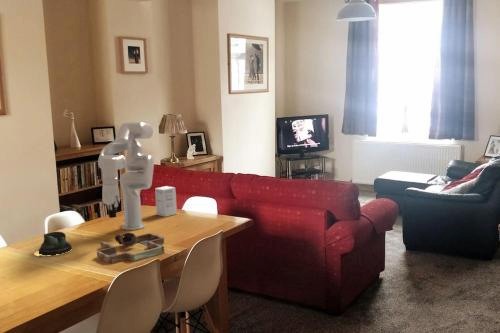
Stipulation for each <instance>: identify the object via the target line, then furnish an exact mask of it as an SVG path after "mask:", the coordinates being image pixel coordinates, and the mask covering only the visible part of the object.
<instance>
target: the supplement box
mask: <svg viewBox="0 0 500 333" xmlns="http://www.w3.org/2000/svg"><path fill="white" fill-rule="evenodd" d="M154 190H155V191H154V192H155V208H156V209H155V210H156V215H158V216H161V217H164V218H165V217H169V216H174V215H177V214H178V211H177V210H178V208H177V193H176V192H177V191H176V187H174V186H169V185H165V186H161V187H155V189H154Z"/></svg>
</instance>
